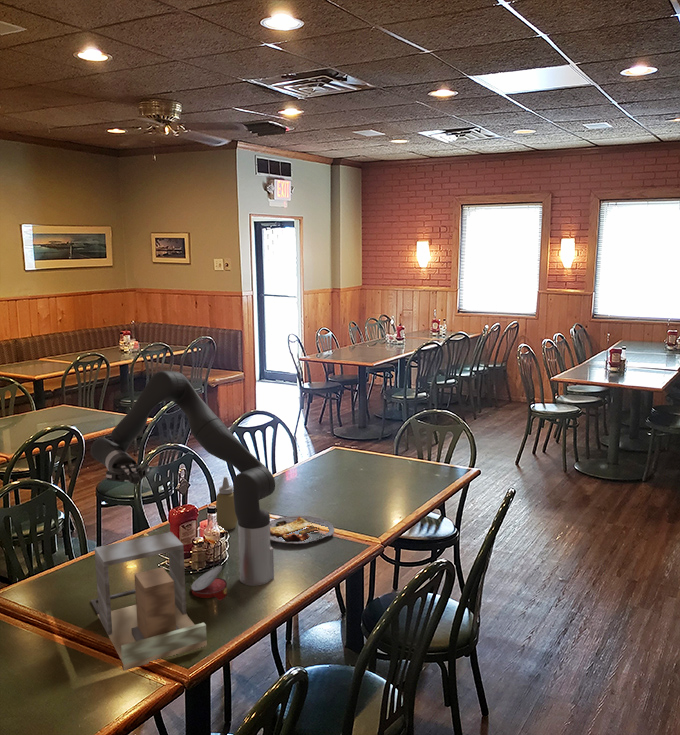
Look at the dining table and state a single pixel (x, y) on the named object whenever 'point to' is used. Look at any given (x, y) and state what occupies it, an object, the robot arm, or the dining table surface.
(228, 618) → the dining table surface
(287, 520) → the food plate
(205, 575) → the canned food
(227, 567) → the dining table surface
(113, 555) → the tunnel
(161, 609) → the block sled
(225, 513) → the squeeze bottle
